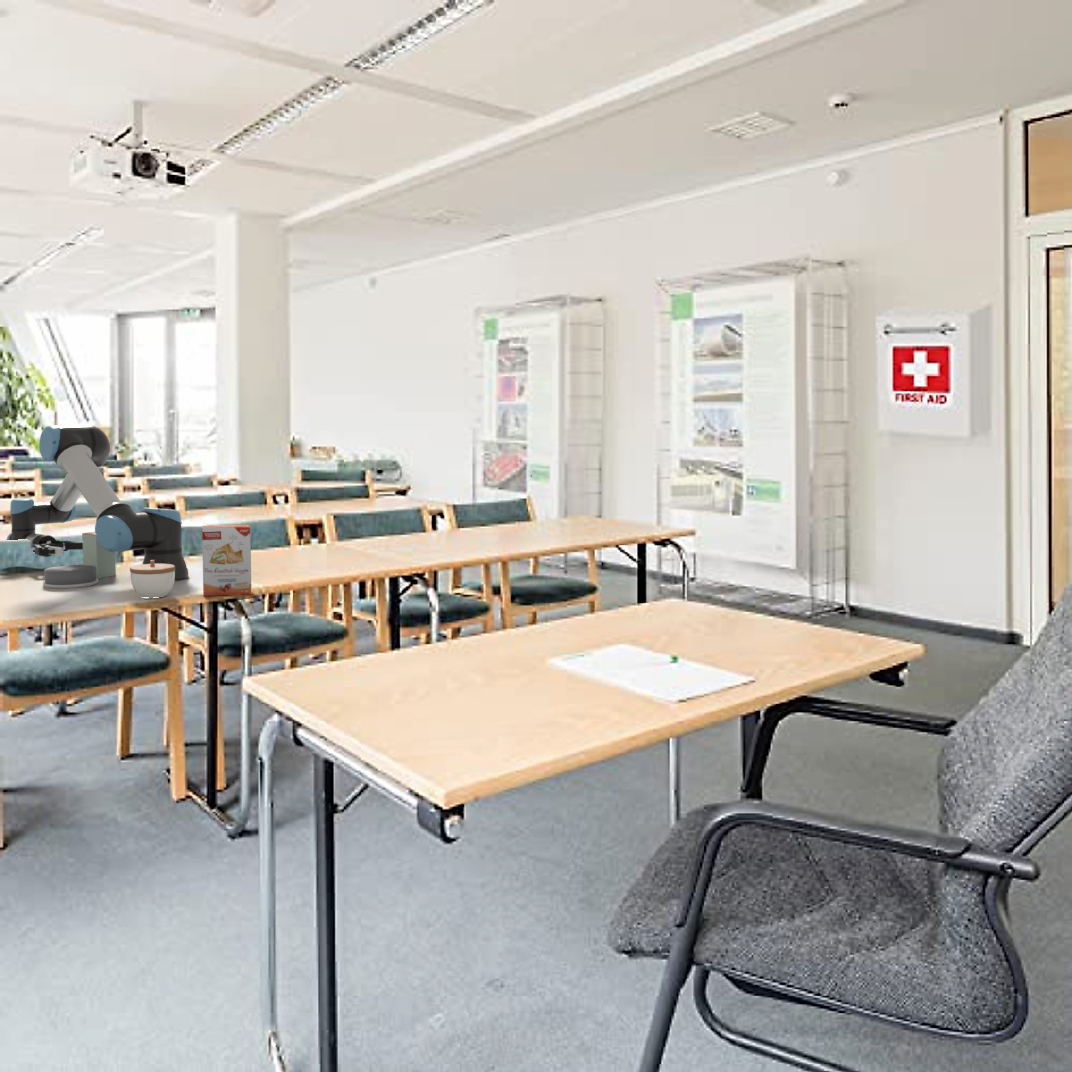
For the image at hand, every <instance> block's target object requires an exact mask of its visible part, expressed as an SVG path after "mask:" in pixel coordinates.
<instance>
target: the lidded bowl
mask: <svg viewBox="0 0 1072 1072" xmlns="http://www.w3.org/2000/svg"><path fill="white" fill-rule="evenodd" d="M129 572H130V581H131V585H132V588H133V590H134V592H135V593H136V594H137V595H138V596H140V598H141V597H149V598H153V597H163V596H166V595H168V594H169V593H170V592H171V591H172V589H173V587H174V585H175V581H176V580H175V566H174V565H172V564H155V560H150V564H143V563H142V564H137V565H133V566H131V567H129ZM166 597H167V596H166Z"/></svg>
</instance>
